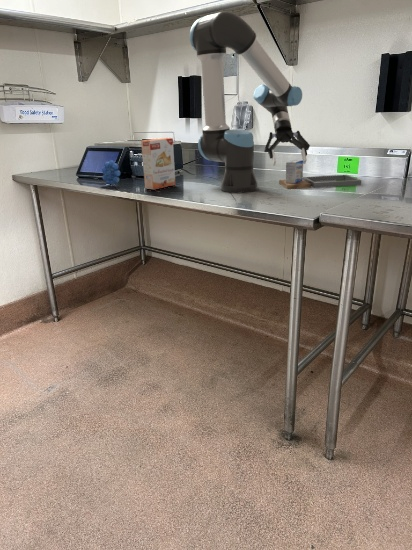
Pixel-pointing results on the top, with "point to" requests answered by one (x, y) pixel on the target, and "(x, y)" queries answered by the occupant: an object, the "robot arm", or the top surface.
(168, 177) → the cracker box
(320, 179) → the bin
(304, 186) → the walnut board
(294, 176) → the medicine box
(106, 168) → the grapes
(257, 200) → the top surface
